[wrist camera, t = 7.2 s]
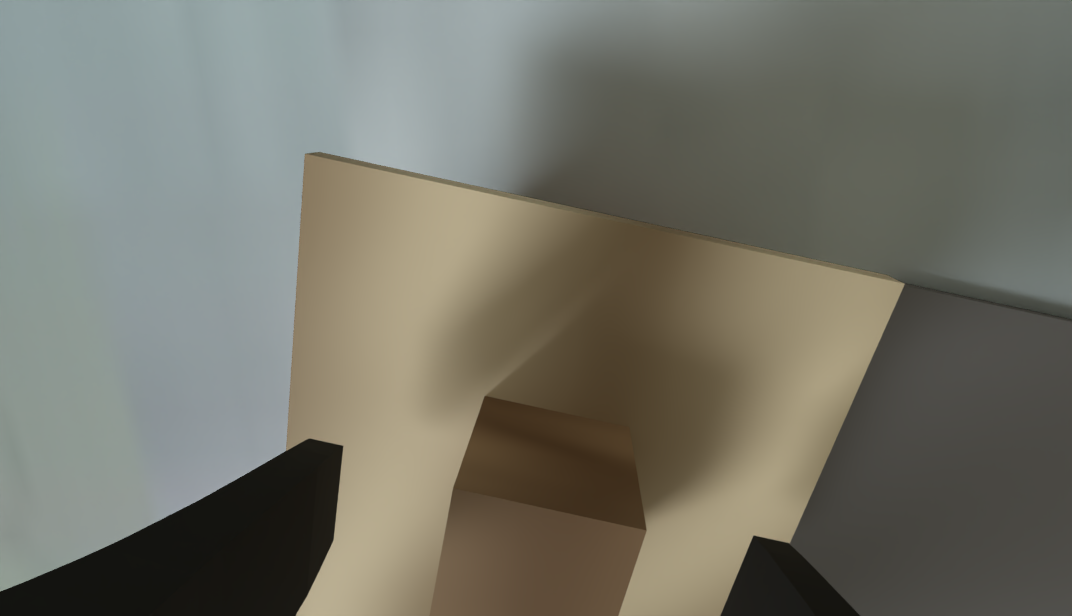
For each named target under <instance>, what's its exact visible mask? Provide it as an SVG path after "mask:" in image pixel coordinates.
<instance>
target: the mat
mask: <svg viewBox="0 0 1072 616" xmlns="http://www.w3.org/2000/svg"><path fill="white" fill-rule="evenodd" d="M904 284H905V283H904ZM790 545H791V546H792V547H793V548H794V549H796V550H797V551H798V552H799V553H800V554H801V555H802V556H803V557H804V558H805V559H806V560H807V561H808V562H809V563H810V564H811V565H812V566H813V567H814V568H815V569H816V570H817V571H818V572H819V573H820V574H821V575H822V576H823V577H824V578H825V579H826V580H827V581H828V583H829V584H830V585H831V586H832V587H833V588H834V589H835V590H836V591H837V592H838V593H839V594H840V595H841V596H842V597H843V598H844V599H845V600H846V601H847V602H848V603H849V604H850V605H851V607H852V608H853V609H854V610H855V611H856V612H857V613H858V614H859V615H860V616H1072V320H1071V319H1067V318H1062V317H1057V316H1053V315H1048V314H1044V313H1039V312H1034V311H1030V310H1025V309H1020V308H1016V307H1011V306H1007V305H1002V304H997V303H993V302H988V301H984V300H979V299H974V298H970V297H965V296H961V295H956V294H951V293H947V292H942V291H937V290H933V289H928V288H924V287H919V286H914V285H910V284H905V285H904V287H903V289H902V292H901V294H900V296H899V298H898V301H897V303H896V305H895V307H894V310H893V312H892V314H891V316H890V319H889V321H888V323H887V325H886V328H885V330H884V332H883V334H882V337H881V339H880V341H879V343H878V346H877V348H876V350H875V352H874V355H873V357H872V359H871V361H870V364H869V366H868V368H867V370H866V373H865V375H864V377H863V379H862V382H861V384H860V386H859V389H858V391H857V393H856V395H855V398H854V400H853V402H852V404H851V407H850V409H849V411H848V413H847V416H846V418H845V420H844V422H843V425H842V427H841V429H840V431H839V434H838V436H837V438H836V440H835V443H834V445H833V447H832V449H831V452H830V454H829V456H828V458H827V461H826V463H825V465H824V467H823V470H822V472H821V474H820V476H819V479H818V481H817V483H816V485H815V488H814V490H813V492H812V494H811V497H810V499H809V501H808V503H807V506H806V508H805V510H804V512H803V515H802V517H801V519H800V521H799V524H798V526H797V528H796V530H795V533H794V535H793V537H792V539H791V542H790Z"/></svg>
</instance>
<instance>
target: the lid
mask: <svg viewBox="0 0 1072 616" xmlns="http://www.w3.org/2000/svg"><path fill="white" fill-rule="evenodd" d="M904 285H905V284H904V283H902V282H900V281H898V280H896V279H894V278H892V277H890V276H888V275H884V274H880V273H875V272H870V271H866V270H861V269H857V268H852V267H847V266H843V265H838V264H834V263H829V262H824V261H820V260H815V259H810V258H806V257H801V256H797V255H792V254H787V253H783V252H778V251H774V250H769V249H764V248H760V247H755V246H750V245H746V244H741V243H737V242H732V241H727V240H723V239H718V238H714V237H709V236H704V235H700V234H695V233H691V232H686V231H681V230H677V229H672V228H667V227H663V226H658V225H654V224H649V223H644V222H640V221H635V220H631V219H626V218H621V217H617V216H612V215H607V214H603V213H598V212H594V211H589V210H584V209H580V208H575V207H571V206H566V205H561V204H557V203H552V202H547V201H543V200H538V199H534V198H529V197H524V196H520V195H515V194H511V193H506V192H501V191H497V190H492V189H488V188H483V187H478V186H474V185H469V184H464V183H460V182H455V181H451V180H446V179H441V178H437V177H432V176H428V175H423V174H418V173H414V172H409V171H404V170H400V169H395V168H391V167H386V166H381V165H377V164H372V163H368V162H363V161H358V160H354V159H349V158H345V157H340V156H335V155H331V154H326V153H321V152H316V153H307V154H305V160H304V176H303V192H302V208H301V224H300V239H299V255H298V271H297V287H296V303H295V318H294V334H293V350H292V366H291V382H290V398H289V413H288V429H287V445H286V451H287V450H289V449H291V448H292V447H294V446H296V445H298V444H299V443H301V442H303V441H305V440H307V439H309V438H310V439H315V440H319V441H324V442H328V443H333V444H338V445H342V446H343V455H342V464H341V474H340V484H339V493H338V503H337V512H336V522H335V532H334V541H333V543H332V545H331V547H330V549H329V551H328V553H327V556H326V558H325V560H324V562H323V564H322V566H321V569H320V571H319V573H318V575H317V577H316V579H315V581H314V583H313V585H312V587H311V589H310V591H309V593H308V595H307V597H306V599H305V601H304V602H303V604H302V606H301V607H300V609H299V611H298V612H297V614H296V616H720V615H721V613H722V610H723V608H724V606H725V603H726V601H727V598H728V596H729V593H730V591H731V589H732V586H733V584H734V581H735V579H736V577H737V574H738V572H739V569H740V567H741V564H742V562H743V560H744V557H745V555H746V552H747V550H748V547H749V545H750V543H751V540H752V538H753V535H754V536H759V537H763V538H768V539H773V540H777V541H782V542H786V543H789V544H790V542H791V539H792V537H793V535H794V533H795V530H796V528H797V526H798V524H799V521H800V519H801V517H802V515H803V512H804V510H805V508H806V506H807V503H808V501H809V499H810V497H811V494H812V492H813V490H814V488H815V485H816V483H817V481H818V479H819V476H820V474H821V472H822V470H823V467H824V465H825V463H826V461H827V458H828V456H829V454H830V452H831V449H832V447H833V445H834V443H835V440H836V438H837V436H838V434H839V431H840V429H841V427H842V425H843V422H844V420H845V418H846V416H847V413H848V411H849V409H850V407H851V404H852V402H853V400H854V398H855V395H856V393H857V391H858V389H859V386H860V384H861V382H862V379H863V377H864V375H865V373H866V370H867V368H868V366H869V364H870V361H871V359H872V357H873V355H874V352H875V350H876V348H877V346H878V343H879V341H880V339H881V337H882V334H883V332H884V330H885V328H886V325H887V323H888V321H889V319H890V316H891V314H892V312H893V310H894V307H895V305H896V303H897V301H898V298H899V296H900V294H901V292H902V289H903V287H904Z"/></svg>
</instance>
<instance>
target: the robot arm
mask: <svg viewBox="0 0 1072 616" xmlns="http://www.w3.org/2000/svg"><path fill="white" fill-rule="evenodd" d="M342 455H343V446H342V445H338V444H333V443H328V442H324V441H319V440H315V439H310V438H309V439H307V440H305V441H303V442H301V443H299V444H298V445H296V446H294V447H292V448H291V449H289V450H287V451H285V452H284V453H282V454H280V455H278V456H277V457H275V458H273V459H272V460H270V461H268V462H266V463H265V464H263V465H261V466H259V467H258V468H256V469H254V470H252V471H251V472H249V473H247V474H245V475H244V476H242V477H240V478H238V479H237V480H235V481H233V482H231V483H229V484H228V485H226V486H224V487H222V488H220V489H219V490H217V491H215V492H213V493H212V494H210V495H208V496H206V497H204V498H203V499H201V500H199V501H197V502H195V503H193V504H191V505H189V506H187V507H185V508H183V509H181V510H179V511H177V512H175V513H173V514H171V515H169V516H167V517H166V518H164V519H162V520H160V521H158V522H156V523H154V524H152V525H150V526H148V527H146V528H144V529H142V530H140V531H138V532H136V533H134V534H132V535H130V536H128V537H126V538H124V539H122V540H120V541H118V542H115V543H113V544H111V545H109V546H107V547H105V548H103V549H100V550H98V551H96V552H94V553H91V554H89V555H87V556H85V557H83V558H80V559H78V560H76V561H73V562H71V563H69V564H66V565H64V566H62V567H59V568H57V569H54V570H52V571H50V572H47V573H45V574H43V575H40V576H38V577H36V578H33V579H31V580H29V581H26V582H24V583H21V584H19V585H16V586H14V587H11V588H9V589H6V590H3V591H1V592H0V616H296V614H297V612H298V611H299V609H300V607H301V606H302V604H303V602H304V601H305V599H306V597H307V595H308V593H309V591H310V589H311V587H312V585H313V583H314V581H315V579H316V577H317V575H318V573H319V571H320V569H321V566H322V564H323V562H324V560H325V558H326V556H327V553H328V551H329V549H330V547H331V545H332V543H333V541H334V532H335V522H336V512H337V503H338V493H339V484H340V474H341V464H342ZM720 616H860V615H859V614H858V613H857V612H856V611H855V610H854V609H853V608H852V607H851V605H850V604H849V603H848V602H847V601H846V600H845V599H844V598H843V597H842V596H841V595H840V594H839V593H838V592H837V591H836V590H835V589H834V588H833V587H832V586H831V585H830V584H829V583H828V581H827V580H826V579H825V578H824V577H823V576H822V575H821V574H820V573H819V572H818V571H817V570H816V569H815V568H814V567H813V566H812V565H811V564H810V563H809V562H808V561H807V560H806V559H805V558H804V557H803V556H802V555H801V554H800V553H799V552H798V551H797V550H796V549H794V548H793V547H792V546H791V545H790V544H789V543H786V542H782V541H777V540H773V539H768V538H763V537H759V536H754V535H753V538H752V540H751V543H750V545H749V547H748V550H747V552H746V555H745V557H744V560H743V562H742V564H741V567H740V569H739V572H738V574H737V577H736V579H735V581H734V584H733V586H732V589H731V591H730V593H729V596H728V598H727V601H726V603H725V606H724V608H723V610H722V613H721V615H720Z"/></svg>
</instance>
